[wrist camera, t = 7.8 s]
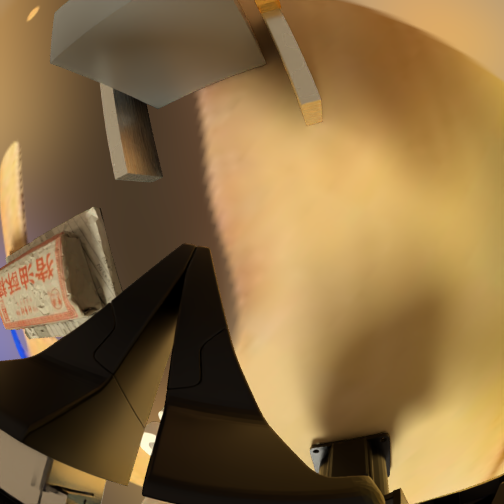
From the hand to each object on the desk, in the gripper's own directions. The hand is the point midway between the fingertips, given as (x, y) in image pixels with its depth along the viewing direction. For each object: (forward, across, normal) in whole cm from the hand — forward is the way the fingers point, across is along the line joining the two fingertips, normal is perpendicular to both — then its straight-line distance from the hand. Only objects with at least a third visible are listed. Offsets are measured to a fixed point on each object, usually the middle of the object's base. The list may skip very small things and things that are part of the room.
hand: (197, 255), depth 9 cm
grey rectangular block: (+14, +4, -5) cm, 15 cm away
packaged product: (+8, +16, +15) cm, 23 cm away
